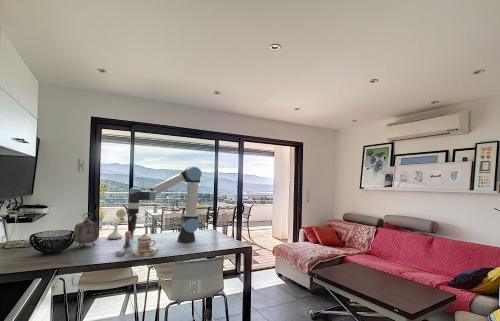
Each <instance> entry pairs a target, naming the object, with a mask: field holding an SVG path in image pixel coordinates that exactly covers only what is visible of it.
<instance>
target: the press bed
mask: <svg viewBox="0 0 500 321" xmlns="http://www.w3.org/2000/svg"><path fill="white" fill-rule="evenodd" d="M157 252H159V248H153V247H150V251H148V252H138V251H137V249H136V250H135V251H134V252H132V254H131V256H132V257H154V256H155V255H156V254H157Z"/></svg>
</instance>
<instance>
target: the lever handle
mask: <svg viewBox="0 0 500 321" xmlns="http://www.w3.org/2000/svg"><path fill="white" fill-rule="evenodd" d="M130 236H131V232H130V231H128V230H127V231H125V233H124V237H125V241H124V244H123V246H122V247H130V246H132V244H131V243H130V242H131V239H130Z"/></svg>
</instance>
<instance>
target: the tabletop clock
mask: <svg viewBox="0 0 500 321" xmlns="http://www.w3.org/2000/svg"><path fill="white" fill-rule="evenodd" d="M86 215H91V216H86ZM85 216H86V217H85ZM92 217H93V213H91V212H86V213H83V214H82V218H83V219H84V220H83V221H82V222H78V223H77V224H75V226H74V230H73V234H74V233H75V238H74V237H73V240H74V242H76V243H78V244H79V245H78V246H77V249H81V246H82V247H85V245H86V244H89V243H92V245H93V246H95V245H96V243H94V242H96V241H97V240H98V238H99V234H100V226H99V223H97V222H93V221H91V218H92ZM81 244H82V245H81Z"/></svg>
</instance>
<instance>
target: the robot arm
mask: <svg viewBox="0 0 500 321" xmlns="http://www.w3.org/2000/svg"><path fill="white" fill-rule="evenodd" d="M201 178H202V170H201V168H199V167H198V166H193V165H192V166H188V167H186V168H185V169H184V170H182V171H180V172H179V174H176V175H174V176H173V177H170V178H167V179H166V180H164V181H162V182H160V183H157V184H155V185H154V186H152V187H150V188H148V189H145V190H141V188H140V187H131V188H129V193H128V204H127V205H128V206H127V207H128V208H127V214H129V217H128V219H127V220H128V230H127V231H130V232H131V236H130V241H131V240H134V237H135V236H134V235H135V231H136V225H137V219H138V216H137V215H138V214H139V209H140V201H156V199H157V195H160V194H161V193H163V192H165V191H168V190H170V189H171V188H173V187H175V186H177V185H180V184H181V183H186V184H187V186H186V202H185V205H186V206H185V207H186V208H185V213H181V215H180V230H179V234H178V237H177V242H179V243H185V244H186V243H193V242H195V241H196V234H195V232H196V231H197V230H198V229H199V226H200V225H199V214H198V213H197V208H198V207H197V206H198V191H199V184H200V183H201Z"/></svg>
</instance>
